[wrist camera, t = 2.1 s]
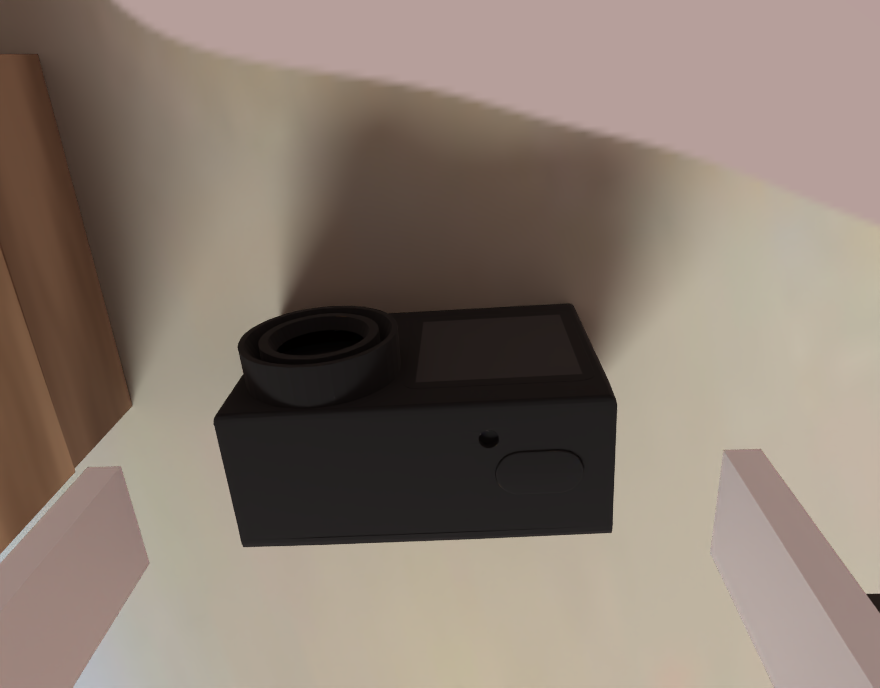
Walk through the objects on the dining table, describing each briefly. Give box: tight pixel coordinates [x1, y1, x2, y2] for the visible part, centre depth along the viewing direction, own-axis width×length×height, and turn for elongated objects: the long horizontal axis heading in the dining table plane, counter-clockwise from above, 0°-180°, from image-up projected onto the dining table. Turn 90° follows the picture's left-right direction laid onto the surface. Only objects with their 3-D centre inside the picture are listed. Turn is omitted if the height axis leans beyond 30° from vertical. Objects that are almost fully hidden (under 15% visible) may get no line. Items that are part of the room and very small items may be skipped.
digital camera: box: [214, 304, 617, 547], centre depth 21 cm, size 10×5×7 cm, turn 94°
